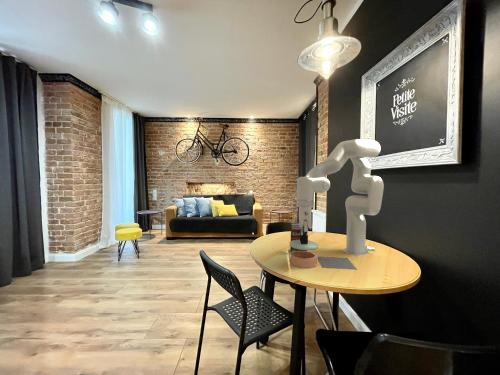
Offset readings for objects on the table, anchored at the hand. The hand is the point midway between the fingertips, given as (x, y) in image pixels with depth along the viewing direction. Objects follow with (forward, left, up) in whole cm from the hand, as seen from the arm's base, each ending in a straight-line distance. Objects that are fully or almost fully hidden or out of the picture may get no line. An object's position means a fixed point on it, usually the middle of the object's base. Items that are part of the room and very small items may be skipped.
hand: (303, 242), depth 108 cm
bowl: (0, 0, -11) cm, 11 cm away
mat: (-15, -3, -11) cm, 19 cm away
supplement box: (+1, -17, -11) cm, 20 cm away
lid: (0, 0, -2) cm, 2 cm away
